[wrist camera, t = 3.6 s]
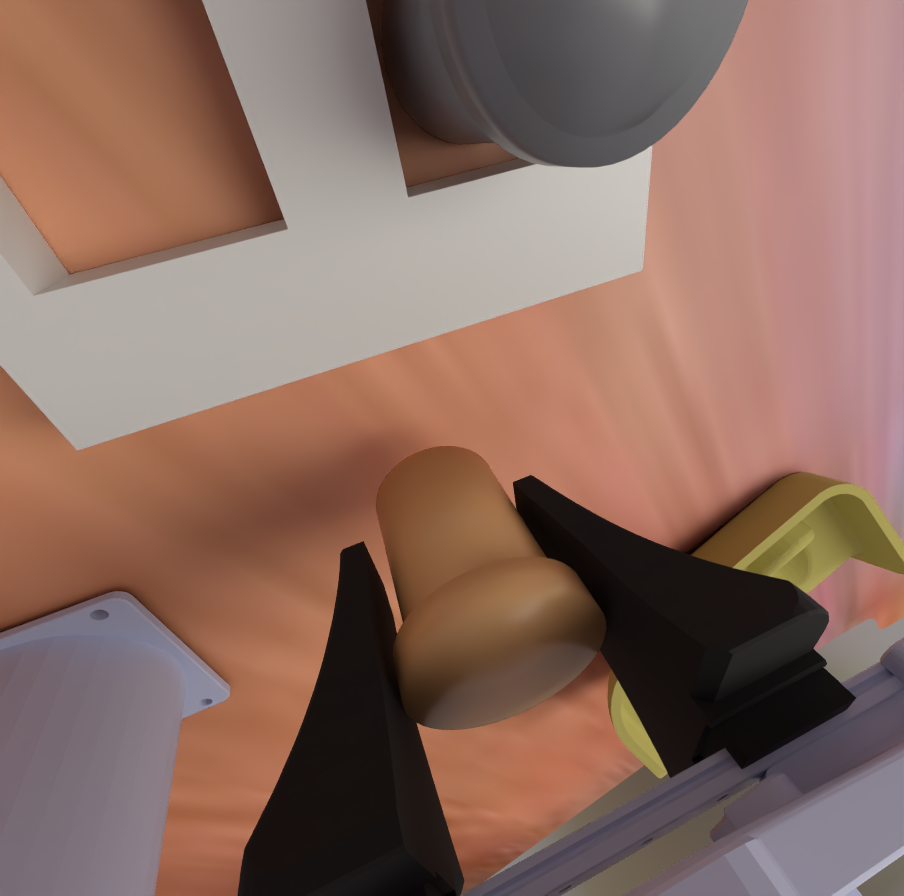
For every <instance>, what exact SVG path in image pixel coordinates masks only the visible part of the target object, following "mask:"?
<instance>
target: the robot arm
mask: <svg viewBox="0 0 904 896" xmlns="http://www.w3.org/2000/svg"><path fill="white" fill-rule="evenodd" d="M513 487H514V494H515V502H516V509H517V511H518V513H519V514H520V516H521V518H522V519H523V521H524V522H525V524H526V526H527V527H528V529H529V530H530V532H531V533H532V535H533V537H534V538H535V540H536V541H537V543H538V545H539V546H540V548H541V549H542V551H543V553H544V554H545V556H546V557H547V558H549V559H554V560H557V561H560V562H562V563H564V564H566V565H567V566H569V567H571V568H572V569H573V570H574V571H575V572H576V573H577V575H578V576H579V578H580V579H581V581H582V582H583V584H584V585H585V587H586V588H587V590H588V591H589V592H590V594H591V595H592V597H593V598H594V600H595V601H596V603H597V604H598V606H599V607H600V609H601V610H602V612H603V613H604V616H605V619H606V634H605V638H604V641H603V643H602V645H601V647H600V651H601V652H602V654H603V656H604V657H605V659H606V661H607V662H608V664H609V666H610V668H611V669H612V671H613V673H614V675H615V676H616V678H617V680H618V681H619V683H620V685H621V687H622V689H623V690H624V692H625V694H626V696H627V698H628V699H629V701H630V703H631V705H632V707H633V708H634V710H635V712H636V714H637V716H638V717H639V719H640V721H641V723H642V725H643V727H644V729H645V730H646V732H647V734H648V736H649V738H650V740H651V742H652V744H653V746H654V747H655V749H656V751H657V753H658V755H659V757H660V759H661V761H662V763H663V765H664V767H665V769H666V771H667V773H668V774H669V776H670V779H668V780H666V781H665V782H663V783H661V784H659V785H658V786H656V787H654V788H652V789H650V790H649V791H647V792H645V793H643V794H641V795H639V796H638V797H636V798H634V799H632V800H630V801H629V802H627V803H625V804H623V805H621V806H620V807H618V808H616V809H614V810H612V811H611V812H609V813H607V814H605V815H603V816H602V817H600V818H598V819H596V820H595V821H593V822H591V823H589V824H587V825H586V826H584V827H582V828H580V829H578V830H577V831H575V832H573V833H571V834H569V835H568V836H566V837H564V838H562V839H560V840H559V841H557V842H555V843H553V844H551V845H550V846H548V847H546V848H544V849H542V850H541V851H539V852H537V853H535V854H534V855H532V856H530V857H528V858H527V859H524V860H523V861H521V862H519V863H517V864H515V865H514V866H512V867H510V868H508V869H506V870H505V871H503V872H501V873H500V874H497V875H496V876H494V877H492V878H490V879H489V880H487V881H485V882H483V883H481V884H480V885H478V886H476V887H474V888H472V889H471V890H469V891H467V892H465V893H463V894H462V895H461V892H462V888H463V884H464V878H463V874H462V871H461V868H460V865H459V862H458V859H457V855H456V852H455V849H454V846H453V843H452V840H451V836H450V833H449V830H448V827H447V824H446V820H445V817H444V814H443V810H442V807H441V804H440V801H439V797H438V794H437V791H436V788H435V784H434V781H433V778H432V774H431V771H430V768H429V764H428V761H427V757H426V754H425V751H424V747H423V744H422V741H421V737H420V734H419V730H418V727H417V723H416V722H415V721H414V720H412V719H411V718H410V717H409V716H408V715H407V713H406V712H405V710H404V707H403V704H402V699H401V694H400V689H399V684H398V680H397V675H396V670H395V665H394V659H393V646H394V642H395V638H396V635H397V632H396V627H395V622H394V617H393V613H392V610H391V607H390V604H389V600H388V597H387V594H386V591H385V588H384V584H383V582H382V580H381V578H380V576H379V574H378V571H377V569H376V567H375V565H374V563H373V561H372V559H371V556H370V554H369V552H368V550H367V548H366V546H365V543H364V541H363V542H360V543H358V544H355V545H353V546H350V547H348V548H345V549H343V550H342V552H341V553H340V572H339V582H338V590H337V597H336V602H335V608H334V614H333V619H332V624H331V629H330V633H329V637H328V642H327V646H326V650H325V654H324V658H323V662H322V665H321V669H320V672H319V676H318V679H317V682H316V685H315V688H314V691H313V694H312V697H311V700H310V703H309V706H308V709H307V711H306V714H305V717H304V720H303V723H302V725H301V728H300V730H299V733H298V735H297V738H296V740H295V743H294V745H293V747H292V750H291V752H290V754H289V757H288V759H287V761H286V764H285V766H284V768H283V771H282V773H281V775H280V777H279V780H278V782H277V784H276V786H275V788H274V791H273V793H272V795H271V797H270V799H269V801H268V803H267V805H266V807H265V809H264V811H263V813H262V815H261V817H260V819H259V821H258V823H257V825H256V827H255V829H254V831H253V833H252V835H251V837H250V839H249V841H248V843H247V845H246V847H245V849H244V854H243V860H242V866H241V873H240V882H239V888H238V896H561V895H562V894H564V893H566V892H568V891H569V890H571V889H573V888H575V887H576V886H578V885H580V884H581V883H583V882H585V881H587V880H588V879H590V878H592V877H593V876H595V875H597V874H599V873H600V872H602V871H604V870H605V869H607V868H609V867H611V866H612V865H614V864H616V863H618V862H619V861H621V860H623V859H624V858H626V857H628V856H630V855H631V854H633V853H635V852H636V851H638V850H640V849H642V848H643V847H645V846H646V845H648V844H650V843H652V842H654V841H655V840H657V839H659V838H661V837H662V836H664V835H666V834H667V833H669V832H671V831H673V830H674V829H676V828H678V827H679V826H681V825H683V824H684V823H686V822H688V821H690V820H691V819H693V818H695V817H697V816H698V815H700V814H702V813H703V812H705V811H707V810H709V809H711V808H712V807H714V806H716V805H717V804H719V803H721V802H722V801H724V800H726V799H728V798H729V797H731V796H733V795H735V794H736V793H738V792H740V791H741V790H743V789H745V788H747V787H748V786H750V785H752V784H753V783H755V782H757V781H759V780H760V781H759V783H758V784H757V785H755V786H754V787H753V788H751V789H750V790H749V791H747V792H746V793H745V794H743V795H742V796H741V797H739V798H738V799H736V800H735V801H733V802H732V803H731V804H729V805H728V806H727V807H725V808H724V816H723V817H722V819H721V821H720V822H719V823H718V824H717V825H716V826H715V827H714V828H713V829H712V830H711V831H710V837H711V839H712V840H713V842H714V843H712V844H710V845H708V846H706V847H705V848H703V849H701V850H699V851H697V852H695V853H693V854H692V855H690V856H688V857H686V858H685V859H683V860H681V861H679V862H678V863H676V864H674V865H673V866H671V867H669V868H667V869H666V870H664V871H662V872H660V873H659V874H657V875H655V876H654V877H652V878H650V879H649V880H647V881H645V882H644V883H642V884H640V885H639V886H637V887H636V888H634V889H632V890H631V891H629V892H627V893H626V894H624V895H622V896H862V895H861V894H860V893H859V891H858V890H857V889H856V887H857V886H859V885H860V884H862V883H863V882H865V881H866V880H868V879H869V878H870V877H872V876H873V875H875V874H876V873H878V872H879V871H880V870H882V869H883V868H885V867H886V866H887V865H889V864H890V863H892V862H893V861H895V860H896V859H897V858H899V857H900V856H902V855H903V854H904V638H902V639H901V640H899V641H897V642H896V643H895V644H893V645H892V646H891V647H890V648H889V649H888V650H887V651H886V652H885V653H884V654H883V655H882V657H881V658H880V662H878V663H876V664H875V665H873V666H871V667H869V668H867V669H866V670H864V671H862V672H860V673H858V674H857V675H855V676H853V677H851V678H850V679H848V680H846V681H844V682H842V683H840V682H839V681H838V680H837V679H835V678H834V677H833V676H832V675H831V674H830V673H829V672H828V671H827V670H826V669H824V668H823V667H825V666H826V664H827V662H826V660H825V659H824V658H823V657H822V656H821V655H820V654H818V653H817V652H816V651H815V650H814V649H813V648H814V646H815V645H816V643H817V642H818V640H819V638H820V637H821V635H822V634H823V632H824V630H825V629H826V626H827V624H828V622H829V614H828V612H827V611H826V610H825V609H824V608H823V607H822V606H821V605H819V604H818V603H817V602H816V601H815V600H813V599H812V598H811V597H810V596H809V595H807V594H806V593H805V592H804V591H802V590H801V589H800V588H798V587H797V586H795V585H794V584H793V583H791V582H790V581H788V580H784V579H779V578H775V577H770V576H766V575H761V574H757V573H752V572H748V571H743V570H739V569H735V568H732V567H728V566H725V565H721V564H717V563H714V562H710V561H707V560H704V559H701V558H698V557H695V556H692V555H689V554H686V553H683V552H680V551H677V550H674V549H671V548H668V547H666V546H663V545H660V544H658V543H655V542H653V541H650V540H648V539H646V538H643V537H641V536H639V535H636V534H634V533H632V532H630V531H628V530H626V529H624V528H621V527H619V526H617V525H615V524H613V523H611V522H609V521H608V520H606V519H604V518H602V517H600V516H598V515H596V514H594V513H593V512H591V511H589V510H587V509H586V508H584V507H582V506H580V505H579V504H577V503H575V502H573V501H572V500H570V499H568V498H567V497H565V496H564V495H562V494H560V493H559V492H557V491H556V490H554V489H552V488H551V487H549V486H548V485H546V484H545V483H543V482H542V481H540V480H539V479H537V478H535V477H534V476H532V475H530V476H527V477H525V478H522V479H520V480H517V481H515V482H513ZM100 610H105V611H100ZM229 695H230V686H229V685H228V684H227V683H226V682H225V681H224V680H223V679H222V678H221V677H220V676H219V675H218V674H217V673H215V672H214V671H213V670H212V669H211V668H210V667H209V666H208V665H207V664H206V663H205V662H204V661H203V660H201V659H200V658H199V657H198V656H197V655H196V654H195V653H194V652H193V651H192V650H191V649H190V648H188V647H187V646H186V645H185V644H184V643H183V642H182V641H181V640H180V639H179V638H178V637H177V636H176V635H174V634H173V633H172V632H171V631H170V630H169V629H168V628H167V627H166V626H165V625H164V624H163V623H161V622H160V621H159V620H158V619H157V618H156V617H155V616H154V615H153V614H152V613H151V612H150V611H149V610H147V609H146V608H145V607H144V606H143V605H142V604H141V603H140V602H139V601H138V600H137V599H136V598H134V597H133V596H132V595H131V594H129V593H127V592H123V591H114V592H110V593H106V594H104V595H101V596H98V597H96V598H93V599H90V600H88V601H85V602H82V603H80V604H77V605H74V606H71V607H69V608H66V609H63V610H61V611H58V612H55V613H53V614H50V615H47V616H45V617H42V618H39V619H36V620H34V621H31V622H28V623H26V624H23V625H20V626H18V627H15V628H12V629H10V630H7V631H4V632H1V633H0V896H154V894H155V887H156V881H157V875H158V868H159V862H160V855H161V849H162V843H163V836H164V830H165V823H166V817H167V811H168V804H169V798H170V791H171V785H172V779H173V772H174V766H175V759H176V753H177V747H178V740H179V734H180V727H181V721H182V719H183V718H185V717H188V716H190V715H192V714H195V713H197V712H200V711H202V710H204V709H207V708H209V707H211V706H214V705H216V704H218V703H221V702H223V701H225V700H226V699H227V698H228V697H229Z"/></svg>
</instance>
